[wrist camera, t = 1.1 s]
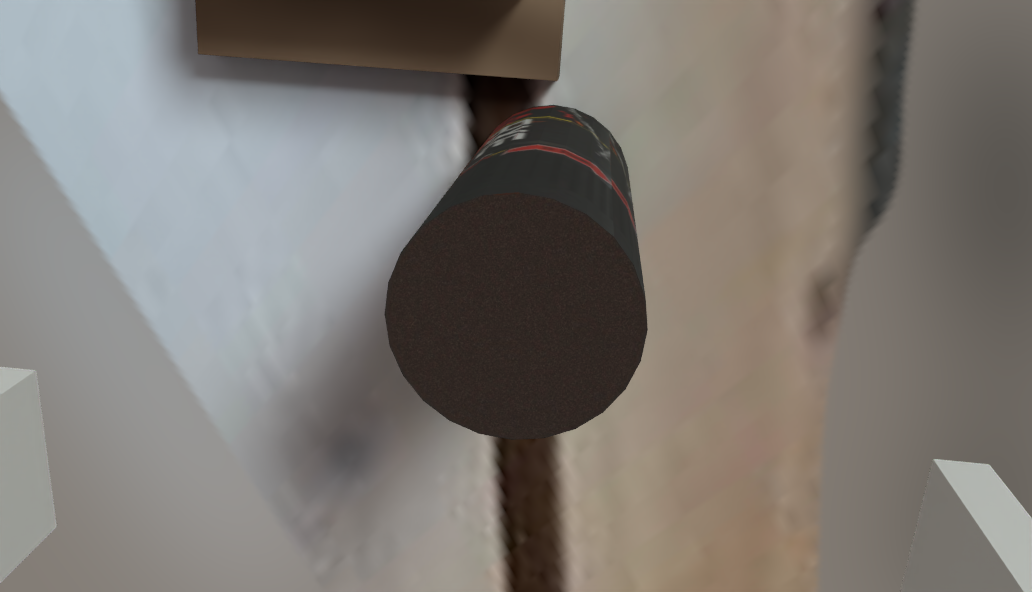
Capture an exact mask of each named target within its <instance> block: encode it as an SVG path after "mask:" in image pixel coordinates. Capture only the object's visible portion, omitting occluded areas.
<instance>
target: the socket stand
mask: <svg viewBox="0 0 1032 592" xmlns="http://www.w3.org/2000/svg"><path fill="white" fill-rule="evenodd" d="M195 2H196V21H197V41H198V54H203V55H216V56H230V57H243V58H257V59H270V60H283V61H297V62H310V63H324V64H337V65H350V66H364V67H377V68H390V69H404V70H417V71H431V72H444V73H457V74H471V75H484V76H498V77H511V78H524V79H538V80H551V81H558V78H559V73H560V61H561V48H562V35H563V22H564V9H565V0H195Z"/></svg>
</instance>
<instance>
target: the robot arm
mask: <svg viewBox="0 0 1032 592" xmlns="http://www.w3.org/2000/svg"><path fill="white" fill-rule="evenodd" d="M56 527H57V526H56V518H55V510H54V503H53V495H52V487H51V480H50V472H49V464H48V457H47V449H46V441H45V434H44V426H43V418H42V411H41V403H40V396H39V388H38V381H37V373H36V370H27V369H17V368H7V367H0V583H1V582H2V581H3V580H4V579H5V578H6V577H7V576H8V575H9V574H10V573H11V572H12V571H13V570H14V569H15V568H16V567H17V566H18V565H19V564H20V563H21V562H22V561H23V560H24V559H25V558H26V557H27V556H28V555H29V554H30V553H31V552H32V551H33V550H34V549H35V548H36V547H37V546H38V545H39V544H40V543H41V542H42V541H43V540H44V539H45V538H46V537H47V536H48V535H49V534H50V533H51V532H52V531H53V530H54V529H55V528H56ZM900 592H1032V518H1031V517H1030V515H1029V514H1028V513H1027V512H1026V510H1025V509H1024V508H1023V507H1022V506H1021V504H1020V503H1019V501H1018V500H1017V499H1016V498H1015V496H1014V495H1013V494H1012V493H1011V491H1010V490H1009V489H1008V488H1007V486H1006V485H1005V484H1004V483H1003V481H1002V480H1001V479H1000V477H999V476H998V475H997V474H996V473H995V471H994V470H993V469H992V467H991V466H990V465H989V464H979V463H969V462H958V461H949V460H939V459H933V461H932V465H931V469H930V473H929V477H928V481H927V485H926V489H925V493H924V497H923V501H922V506H921V509H920V514H919V517H918V522H917V525H916V530H915V533H914V538H913V542H912V546H911V550H910V554H909V558H908V562H907V566H906V570H905V574H904V578H903V582H902V586H901V590H900Z"/></svg>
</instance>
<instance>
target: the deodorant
mask: <svg viewBox="0 0 1032 592" xmlns="http://www.w3.org/2000/svg"><path fill="white" fill-rule="evenodd" d="M385 318H386V324H387V331H388V337H389V344H390V347H391V350H392V352H393V354H394V356H395V359H396V361H397V363H398V365H399V367H400V370H401V372H402V374H403V376H404V377H405V378H406V380H407V381H408V382H409V383H410V385H411V386H412V387H413V388H414V390H415V391H416V392H417V393H418V395H419V396H420V397H421V398H422V400H423V401H425V402H426V403H427V404H428V405H430V406H431V407H432V408H434V409H435V410H436V411H438V412H439V413H440V414H442V415H443V416H444V417H445V418H447V419H448V420H450V421H452V422H454V423H456V424H459V425H461V426H463V427H465V428H468V429H470V430H472V431H474V432H477V433H479V434H484V435H489V436H495V437H500V438H506V439H511V440H514V439H535V438H546V437H550V436H553V435H556V434H560V433H563V432H566V431H570V430H573V429H576V428H578V427H579V426H581V425H583V424H584V423H586V422H588V421H589V420H591V419H593V418H594V417H596V416H598V415H599V414H601V413H603V412H604V411H605V410H606V409H607V408H608V407H609V406H610V405H611V404H612V403H613V402H614V400H615V399H616V398H617V397H618V396H619V395H620V394H621V393H622V392H623V391H624V390H625V389H626V387H627V385H628V384H629V382H630V380H631V378H632V376H633V374H634V372H635V371H636V369H637V367H638V365H639V363H640V361H641V357H642V353H643V348H644V344H645V339H646V335H647V330H648V329H647V315H646V300H645V291H644V284H643V276H642V269H641V262H640V255H639V247H638V240H637V233H636V225H635V218H634V211H633V203H632V196H631V189H630V181H629V174H628V167H627V164H626V161H625V158H624V155H623V153H622V150H621V147H620V146H619V144H618V143H617V142H616V140H615V139H614V137H613V136H612V134H611V133H610V131H609V130H607V129H606V128H605V127H604V126H603V125H602V124H600V123H599V122H598V121H597V120H596V119H595V118H593V117H591V116H589V115H587V114H585V113H583V112H580V111H578V110H576V109H573V108H568V107H562V106H556V105H549V106H538V107H532V108H529V109H527V110H524V111H521V112H519V113H516V114H514V115H512V116H511V117H509V118H508V119H507V120H505V121H504V122H503V123H501V124H500V125H498V126H497V127H496V129H495V130H494V131H493V132H492V134H491V135H490V136H489V137H488V139H487V140H486V141H485V142H484V144H483V145H482V146H481V148H480V149H479V150H478V152H477V153H476V154H475V156H474V157H473V158H472V160H471V161H470V162H469V163H468V165H467V166H466V167H465V169H464V170H463V171H462V173H461V174H460V175H459V177H458V178H457V179H456V181H455V182H454V183H453V185H452V186H451V187H450V189H449V190H448V191H447V192H446V194H445V195H444V196H443V198H442V199H441V200H440V202H439V203H438V204H437V206H436V207H435V208H434V210H433V211H432V212H431V214H430V215H429V216H428V218H427V219H426V220H425V222H424V223H423V224H422V225H421V227H420V228H419V229H418V231H417V232H416V233H415V235H414V236H413V237H412V239H411V240H410V241H409V243H408V244H407V245H406V247H405V248H404V249H403V251H402V252H401V254H400V256H399V258H398V261H397V263H396V266H395V268H394V270H393V273H392V275H391V278H390V280H389V282H388V291H387V299H386V309H385Z"/></svg>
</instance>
